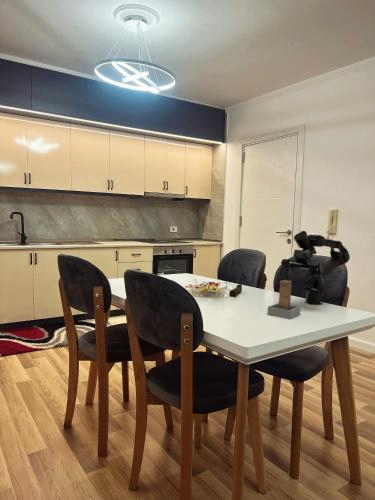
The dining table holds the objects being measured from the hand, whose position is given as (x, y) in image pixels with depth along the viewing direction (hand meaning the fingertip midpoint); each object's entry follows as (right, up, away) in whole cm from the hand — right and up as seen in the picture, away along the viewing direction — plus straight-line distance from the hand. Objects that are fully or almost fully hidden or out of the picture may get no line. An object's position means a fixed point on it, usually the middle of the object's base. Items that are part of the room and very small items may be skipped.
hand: (295, 280), depth 174 cm
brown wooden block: (-8, -13, -11) cm, 19 cm away
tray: (-8, -14, -11) cm, 19 cm away
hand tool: (-23, -11, +32) cm, 41 cm away
